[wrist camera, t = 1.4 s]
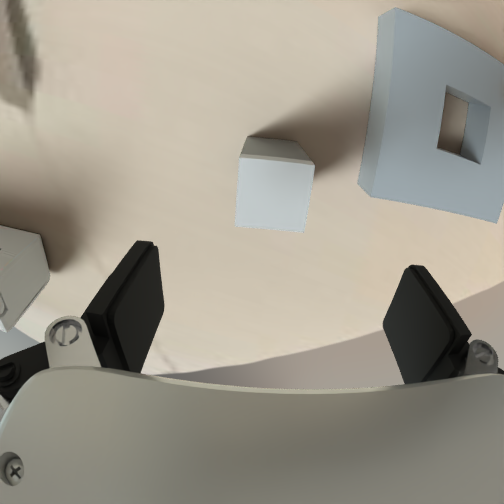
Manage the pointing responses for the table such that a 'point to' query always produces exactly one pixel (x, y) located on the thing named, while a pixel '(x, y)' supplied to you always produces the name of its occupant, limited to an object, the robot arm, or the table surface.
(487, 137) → the socket
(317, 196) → the table surface
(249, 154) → the plug
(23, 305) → the stereo radio cassette player
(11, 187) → the table surface
